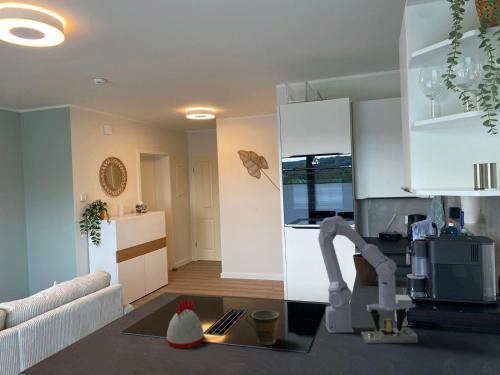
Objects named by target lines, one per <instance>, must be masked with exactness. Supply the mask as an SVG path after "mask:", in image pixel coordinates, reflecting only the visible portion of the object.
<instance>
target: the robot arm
mask: <svg viewBox="0 0 500 375" xmlns="http://www.w3.org/2000/svg"><path fill="white" fill-rule="evenodd" d="M337 236H341V237H342V236H344V237H346V238H347V239H348V240H349V241H350V242H351V243H352V244H354V245H355V246H356V247H357V248H358V249H359V250H360V251H361V253H360V254H362V256H363V257H364V258H365V259H366V260H367V261H368V262H369V263H370V264H371V265H372V266H373V267H375V268H376V272H377V274H378V275H377V276H378V302H379V303H372V304H366V311H367V312H369V313H370V315H371V317H372V319H373V323H374V326H375V328H376V330H377V332H379V331H380V328H381V326H380V317H381V315H380V313H379V312H381V311H382V312H385V311H386V312H387V311H389V312H390V311H391V312H392V311H394V312H395V311H396V317H397V322H396V328H397V330H398V331H401V328H403V326H402V324H403V321H404V319H405V317H406V316H407V312H406V311H409V306H408V305H407V304H397V303H396V295H397V293H396V276H395V275H396V274H395V273H396V271H397V264H396V262H395V261H394V259H392V258H389V257H388V256H387V255H384V253H382V251H381V250H380V249H379V247H378V246H377V245H374V244H373V243H372V244H369V243H367V242H366V241H365V240H364V239H363V238H362V236H361V235H360V234H359V233H358V232H357V231H356V230H355V229H354V228H353V227H352V226H351V225H350V224H349V222H348V221H347V220H345V218H344V217H342V216H340V215H334V216H331V217H325V218H324V219H323V220H322V221H321V223H320V224H319V232H318V239H317V240H318V244H319V248H320V251H321V256H322V259H323V262H324V266H325V270H326V274H327V277H328V281H329V286H328V294H329V295H328V302H329V304H330V306H325V327H326V328H327V331H328V333H330V334H331V333H333V334H334V333H336V334H339V333H355V330H354V329H353V327H352V321H351V320H352V319H351V317H352V316H351V314H352V313H351V300H352V298H353V293H352V291H351V289H350V288H349V286H348V282H346V281H345V280H344V278H343V274H342V270H341V267H340V263H339V260H338V255H337V253H336V248H335V245H334V242H333V241H335V238H336V237H337Z"/></svg>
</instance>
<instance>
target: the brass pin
mask: <svg viewBox="0 0 500 375" xmlns="http://www.w3.org/2000/svg"><path fill="white" fill-rule="evenodd" d="M383 328H384V335H386V334H393V328H394V327H393V318H389V317H385V318H383Z"/></svg>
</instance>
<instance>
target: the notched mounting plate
mask: <svg viewBox="0 0 500 375" xmlns="http://www.w3.org/2000/svg"><path fill="white" fill-rule="evenodd" d="M360 335H361V338H362V339H363V340H364V342H365V343H366V344H393V343H394V344H397V343H398V344H405V343H407V344H410V343H411V344H413V343H418V341H419V338H418V334H417V333H416V332H415V331H414V330H413V329H412V328H410V327H402V328H401V331H398V330H397V327H393V334H386V335H384V327H382V328H381V327H380V331H379V332H377V330H376V327H375V328H374V331H361V332H360Z"/></svg>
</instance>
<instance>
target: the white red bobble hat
mask: <svg viewBox="0 0 500 375" xmlns="http://www.w3.org/2000/svg"><path fill="white" fill-rule="evenodd" d="M180 304H181V305H180ZM180 304H178V305H177V306H178V309H177V308H175V309H174V310H175V314H174V315H173V317H172V318H171V319H170V321H169V324H168V328H167V332H166V344H167V345H168V346H169V347H172V348H176V349H189V348H192V347H195V346H198V345H200V344H201V343H203V342H204V340H205V332H204V329H203V326H202V322H201V320H200V318H199V317H198V315H197V314H196V313H195V312H194V311H193V307H194V304H195V301H192V299H188V300H186V299H185V300H181V303H180Z"/></svg>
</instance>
